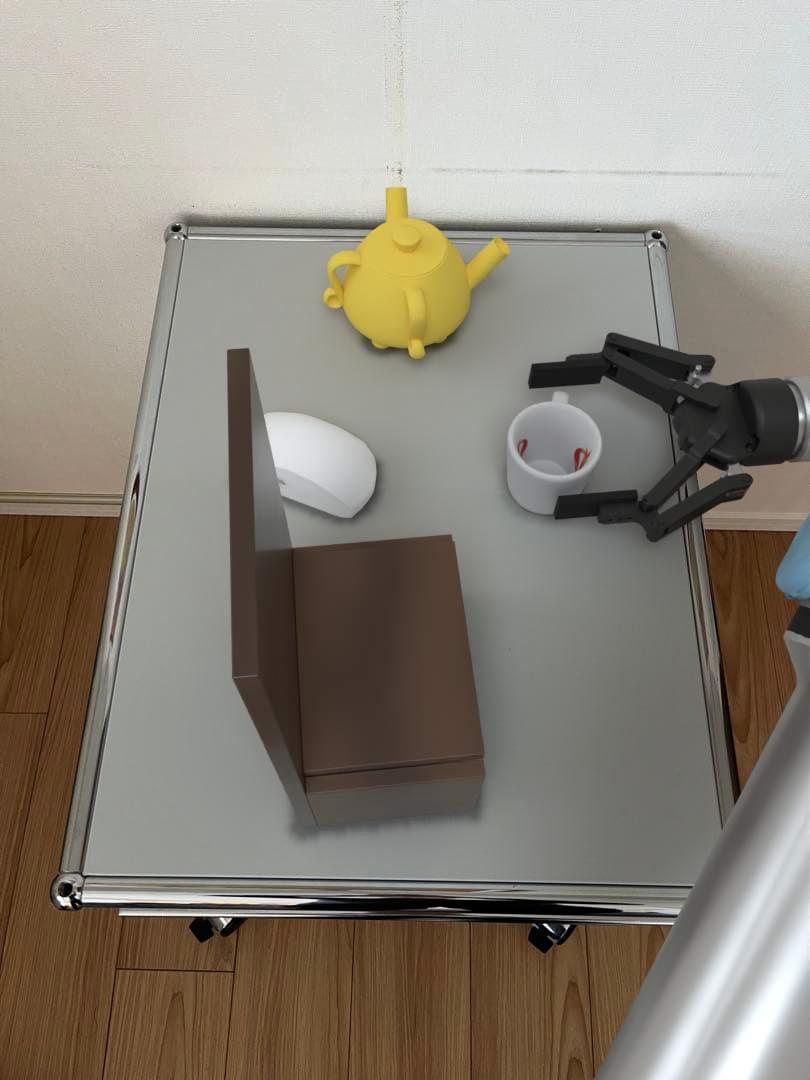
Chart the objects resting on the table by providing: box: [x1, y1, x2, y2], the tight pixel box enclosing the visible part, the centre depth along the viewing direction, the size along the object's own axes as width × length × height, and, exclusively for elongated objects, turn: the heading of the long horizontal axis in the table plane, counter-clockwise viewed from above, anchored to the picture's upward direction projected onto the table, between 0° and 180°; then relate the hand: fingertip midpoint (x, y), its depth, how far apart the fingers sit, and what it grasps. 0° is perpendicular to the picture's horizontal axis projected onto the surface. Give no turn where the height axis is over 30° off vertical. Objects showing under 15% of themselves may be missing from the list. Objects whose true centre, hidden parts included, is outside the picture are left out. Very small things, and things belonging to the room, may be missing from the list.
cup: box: [506, 390, 603, 515], centre depth 82 cm, size 11×8×8 cm
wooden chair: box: [226, 347, 486, 829], centre depth 61 cm, size 13×18×34 cm
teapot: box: [322, 186, 511, 360], centre depth 90 cm, size 14×14×11 cm
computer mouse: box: [263, 411, 378, 519], centre depth 83 cm, size 6×13×6 cm, turn 67°
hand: (542, 439), depth 81 cm, fingers open, 13 cm apart
